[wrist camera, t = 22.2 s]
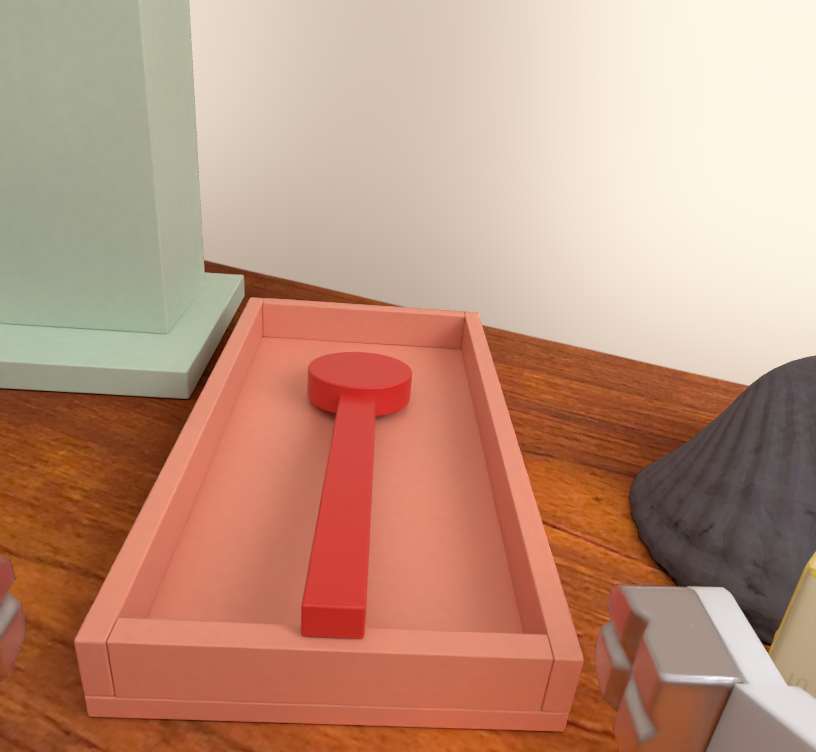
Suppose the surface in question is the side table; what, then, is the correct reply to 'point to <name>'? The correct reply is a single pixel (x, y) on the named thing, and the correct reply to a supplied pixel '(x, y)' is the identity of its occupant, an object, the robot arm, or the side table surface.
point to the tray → (293, 537)
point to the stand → (103, 202)
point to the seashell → (740, 498)
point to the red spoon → (347, 486)
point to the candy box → (798, 635)
